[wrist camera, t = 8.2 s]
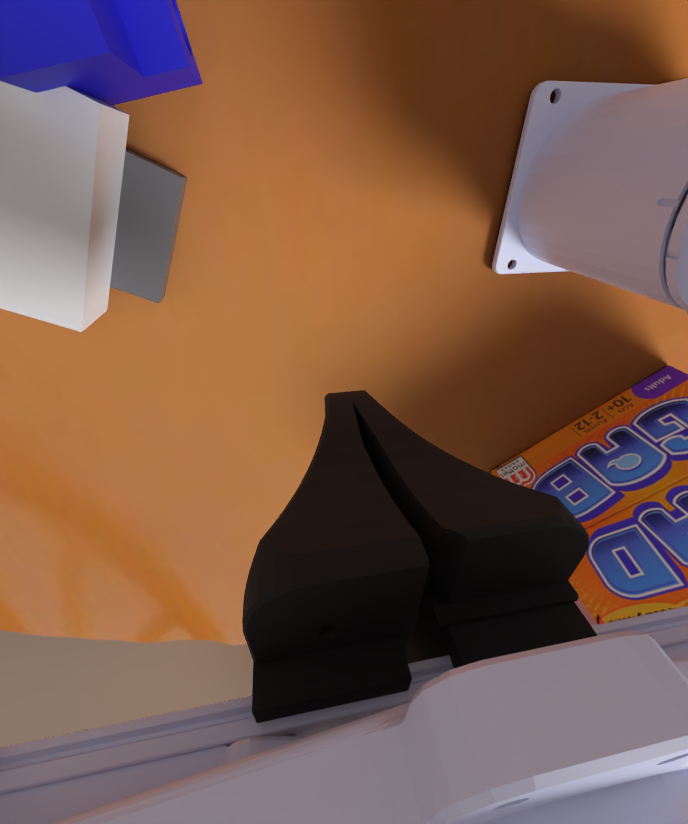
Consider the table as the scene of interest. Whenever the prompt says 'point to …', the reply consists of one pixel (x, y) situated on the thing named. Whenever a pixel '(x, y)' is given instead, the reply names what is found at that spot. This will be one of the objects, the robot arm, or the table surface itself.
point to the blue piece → (96, 47)
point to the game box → (623, 495)
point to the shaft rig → (78, 208)
